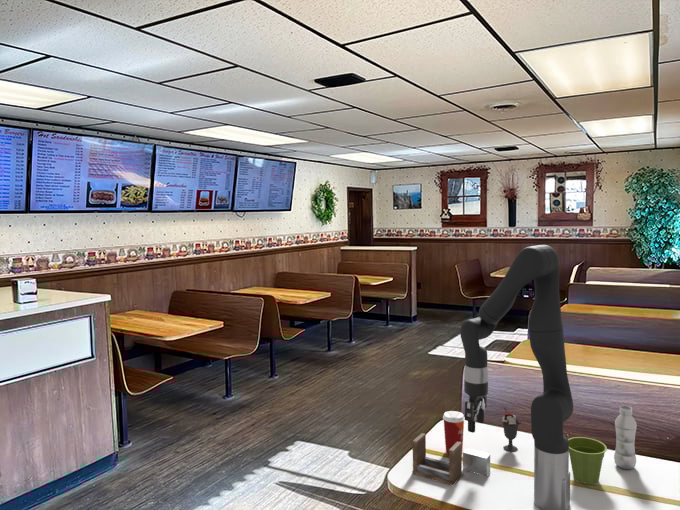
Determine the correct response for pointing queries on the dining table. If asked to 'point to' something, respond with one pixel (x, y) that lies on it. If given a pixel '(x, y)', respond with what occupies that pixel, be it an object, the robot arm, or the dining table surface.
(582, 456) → the plant pot
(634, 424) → the plastic bottle
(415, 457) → the wooden holder
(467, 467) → the metal block
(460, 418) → the paper cup
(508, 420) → the sundae
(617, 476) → the dining table surface
